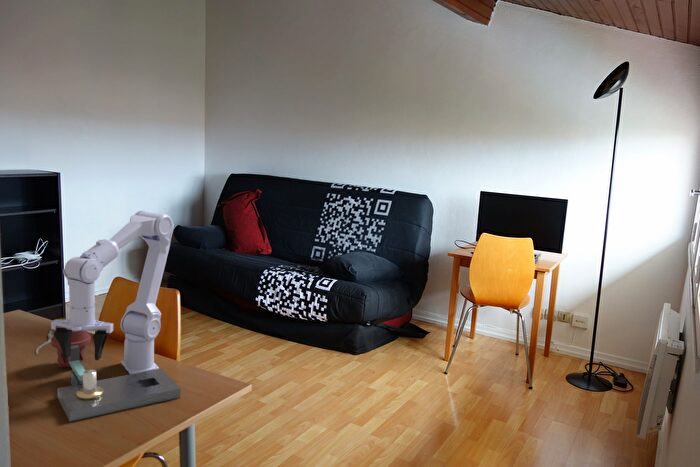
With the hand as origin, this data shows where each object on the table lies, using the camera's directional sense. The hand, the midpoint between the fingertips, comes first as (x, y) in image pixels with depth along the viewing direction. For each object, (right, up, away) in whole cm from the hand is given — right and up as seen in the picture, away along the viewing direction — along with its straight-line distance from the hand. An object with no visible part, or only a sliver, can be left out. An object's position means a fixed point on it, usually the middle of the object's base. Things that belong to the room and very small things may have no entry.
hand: (82, 357), depth 148 cm
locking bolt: (-4, -5, +6) cm, 8 cm away
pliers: (-25, -3, +32) cm, 41 cm away
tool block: (+7, -9, +3) cm, 12 cm away
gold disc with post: (+3, -11, -3) cm, 12 cm away
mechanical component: (-11, -6, +18) cm, 22 cm away
